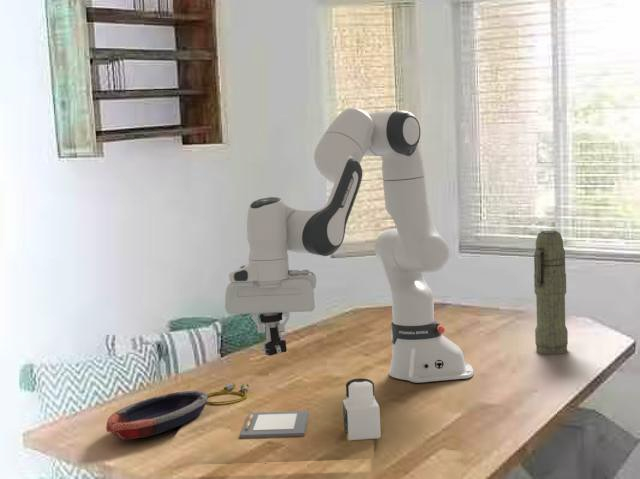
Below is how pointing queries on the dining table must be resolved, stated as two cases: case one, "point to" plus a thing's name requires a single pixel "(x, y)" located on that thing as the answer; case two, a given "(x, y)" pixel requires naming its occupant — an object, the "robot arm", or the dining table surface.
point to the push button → (273, 334)
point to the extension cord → (228, 387)
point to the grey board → (275, 424)
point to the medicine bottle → (361, 411)
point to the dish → (156, 414)
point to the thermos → (550, 293)
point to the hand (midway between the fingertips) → (271, 332)
